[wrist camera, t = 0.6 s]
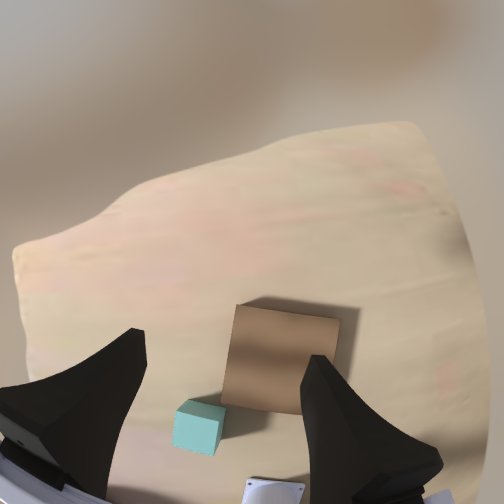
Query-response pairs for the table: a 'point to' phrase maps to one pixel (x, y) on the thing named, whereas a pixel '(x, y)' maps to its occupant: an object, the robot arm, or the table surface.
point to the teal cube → (198, 427)
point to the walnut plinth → (273, 357)
